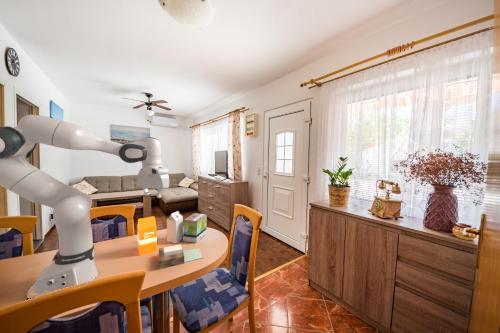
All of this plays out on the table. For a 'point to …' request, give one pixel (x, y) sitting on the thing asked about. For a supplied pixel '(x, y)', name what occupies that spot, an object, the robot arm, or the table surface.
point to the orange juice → (147, 235)
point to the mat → (192, 254)
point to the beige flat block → (172, 250)
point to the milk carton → (175, 227)
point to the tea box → (195, 227)
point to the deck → (170, 259)
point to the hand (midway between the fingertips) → (152, 196)
